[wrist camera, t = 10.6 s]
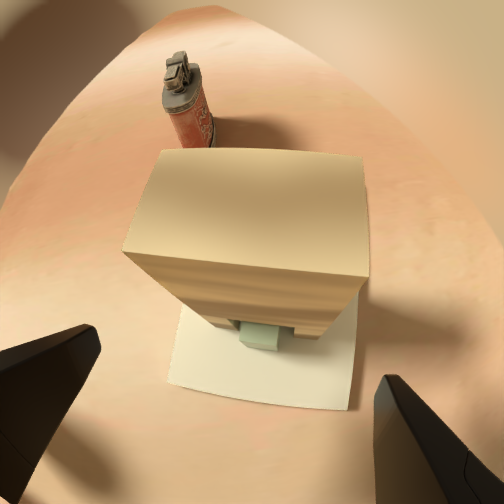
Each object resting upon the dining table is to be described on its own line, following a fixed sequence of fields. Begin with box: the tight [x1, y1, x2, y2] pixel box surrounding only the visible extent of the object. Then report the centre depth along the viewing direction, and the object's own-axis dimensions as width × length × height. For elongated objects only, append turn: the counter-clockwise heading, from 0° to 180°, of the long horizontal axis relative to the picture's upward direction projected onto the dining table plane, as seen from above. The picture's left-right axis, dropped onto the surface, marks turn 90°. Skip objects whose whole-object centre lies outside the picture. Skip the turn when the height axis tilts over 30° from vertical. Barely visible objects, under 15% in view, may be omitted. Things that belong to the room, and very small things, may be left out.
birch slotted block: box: [121, 148, 369, 340], centre depth 13 cm, size 4×7×12 cm, turn 81°
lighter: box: [162, 51, 217, 148], centre depth 23 cm, size 8×3×10 cm, turn 4°
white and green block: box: [167, 291, 359, 410], centre depth 19 cm, size 18×12×4 cm, turn 171°
